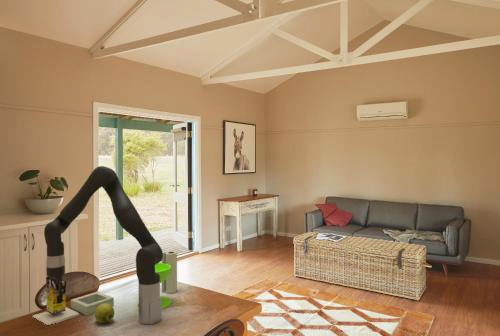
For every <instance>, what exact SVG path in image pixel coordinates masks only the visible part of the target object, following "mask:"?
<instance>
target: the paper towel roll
mask: <svg viewBox="0 0 500 336" xmlns="http://www.w3.org/2000/svg"><path fill="white" fill-rule="evenodd" d="M161 263H164V264H168V265H170V266H171V269H170V273H169V275H168V277H167V278H166V279H165V280H164V281H163V282H161V293H164V292H166V293H167V294H175V293H176V292H178V251H173V250H172V251H165V252H163V259H162V261H161Z"/></svg>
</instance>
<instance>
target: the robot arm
mask: <svg viewBox="0 0 500 336" xmlns="http://www.w3.org/2000/svg"><path fill="white" fill-rule="evenodd" d="M101 188H102V189H103V190H104V191H105V192H106V194H107V196H108V197H109V199H110V203H111V207H112V212H113V214H114V217H115V218H116V220H117V222H118V224H119V225H120V226H121V228H122V229H124V231H125V232H126V233H128V234H129V235H131V236H132V237H133V238H134V239H135V240H136V241H137V242H138V244H139V246H140V247H141V248H139V249H138V250H137V251H136V252H137V253H136V254H135V269H136V277H137V280H138V303H139V307H138V322H139V324H143V325H154V324H156V323H158V322H160V321H162V319H163V318H162V309H161V299H160V296H161V283H160V275H159V274H158V273H155V265H156V264H158V263H162V259H163V253H164V252H163V250H162V247H161V246H160V244H159V243H158V242H157V240H156V239H155V238H154V236H153V235H152V233H150V231H149V229H148V228H147V226H146V224H145V222H144V221H143V219H142V217H141V216H140V214H139V212H138V210H137V209H136V207H135V205H134V204H133V202H132V201H131V199H130V197H129V196H128V194H127V193H126V192H125V190H124V188H123V185H122V183H121V182H120V179H119V177H118V174H117V173H116V172H115V171H114V170H113V169H112V168H111V167H109V166H108V167H107V166H103V165H100V166H97V167H96V168H94V169H93V171H92V172H91V173H90V174H89V176H88V178H87V179H86V180H85V182H84V183H83V185H82V186H81V188H80V189H79V190H78V191H77V193H76V194H75V195H74V196H73V197H72V198H71V200H69V202H67V204H66V205H65V206H64V207H63V208H62V209H61V210H60V212H59V214H58V215H57V216H56V218H54V220H52V221H50V222H48V223H46V225H45V226H44V230H43V232H44V233H43V234H44V239H45V240H44V242H45V244H46V261H45V262H46V263H45V265H46V267H45V270H46V273H45V274H46V277H45V282H46V283H45V284H46V289H47V288H51V287H54V289H55V290H56V291H57V303H58V304H59V303H62V302H63V294H65V295H66V293H67V280H63V276H64V275H65V274H66V257H65V244H64V242H63V241H62V234H63V233H64V232H66V230H67V229H68V228H69V227H70V225H71V224H72V222H73V221H75V220H76V219H77V218H78V217H79V215H80V214H82V212H84V210H85V209H86V207H87V205H88V204H89V201H90V200H91V198H92V196H94V194H95V193H96V192H97V191H98V190H99V189H101ZM57 287H59V288H57ZM58 290H59V291H58Z"/></svg>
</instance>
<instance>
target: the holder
mask: <svg viewBox="0 0 500 336" xmlns="http://www.w3.org/2000/svg"><path fill="white" fill-rule="evenodd" d="M114 298H115V297H113V296H110V295H108V294H106V293H102V292H99V291H95V292H92V293H89V294H86V295H82V296H79V297H75V298H72V299H70V309H71V310H73V311H75V312H78V313H79V314H80V313H81V314H83V315H84V316H89V315H93V314H95V311H96V309H97V307H98V306H99V305H101V304H104V303H108V304H110V305H111V306H112V307H114V306H115V305H114V304H115V303H114V302H115V301H114V300H115V299H114Z"/></svg>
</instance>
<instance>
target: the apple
mask: <svg viewBox="0 0 500 336" xmlns="http://www.w3.org/2000/svg"><path fill="white" fill-rule="evenodd" d="M114 316H115V309H114V306H111V305H110V304H108V303H104V304H101V305H99V306H98V307H97V309H96V311H95V313H94V318H95V320H96V321H97V323H101V324H106V323H109V322H110V321H111V320H113V318H114Z"/></svg>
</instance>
